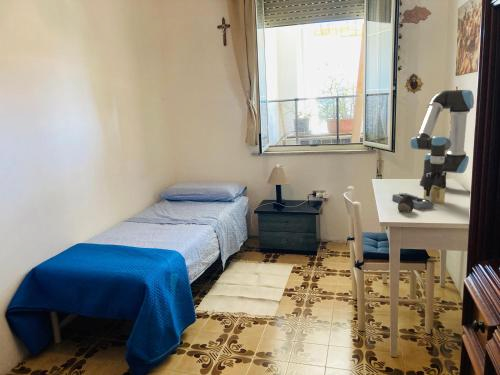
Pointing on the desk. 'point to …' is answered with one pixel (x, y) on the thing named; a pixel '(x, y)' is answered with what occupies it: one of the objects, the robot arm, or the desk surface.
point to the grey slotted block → (418, 202)
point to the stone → (406, 204)
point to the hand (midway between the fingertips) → (433, 200)
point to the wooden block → (436, 194)
